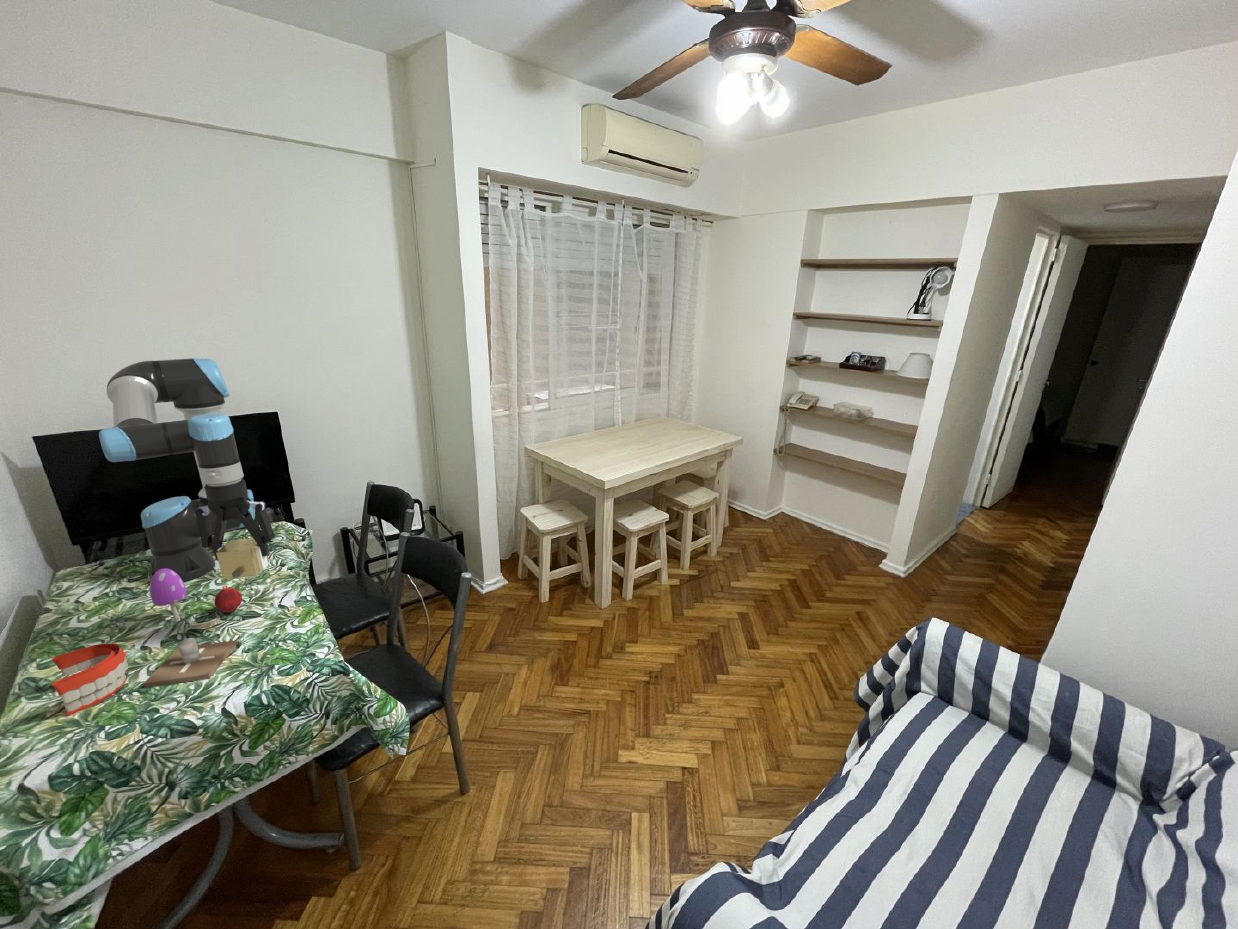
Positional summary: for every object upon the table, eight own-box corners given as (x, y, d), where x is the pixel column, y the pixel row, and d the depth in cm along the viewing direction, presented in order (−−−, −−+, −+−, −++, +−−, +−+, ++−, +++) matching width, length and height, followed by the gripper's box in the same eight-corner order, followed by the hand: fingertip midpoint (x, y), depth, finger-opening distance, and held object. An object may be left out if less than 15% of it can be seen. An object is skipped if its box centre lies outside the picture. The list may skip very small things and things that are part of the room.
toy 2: (174, 629, 125) (157, 577, 121) (153, 626, 126) (136, 574, 122) (200, 614, 131) (185, 564, 127) (180, 611, 133) (165, 562, 128)
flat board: (178, 652, 117) (171, 630, 115) (236, 644, 119) (230, 622, 118) (145, 688, 106) (136, 664, 104) (209, 678, 108) (202, 655, 106)
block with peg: (240, 562, 125) (234, 537, 123) (271, 559, 126) (266, 534, 124) (219, 582, 115) (212, 556, 113) (253, 579, 117) (246, 552, 115)
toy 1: (136, 691, 105) (125, 659, 102) (65, 719, 98) (51, 686, 95) (130, 664, 113) (120, 634, 111) (64, 688, 106) (51, 657, 103)
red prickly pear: (249, 609, 133) (242, 583, 131) (224, 620, 129) (216, 594, 126) (238, 603, 136) (232, 578, 134) (214, 614, 132) (206, 588, 129)
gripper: (163, 490, 108) (190, 582, 115) (265, 483, 113) (286, 572, 119) (183, 479, 115) (207, 566, 122) (279, 473, 120) (297, 557, 126)
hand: (246, 569), depth 121 cm, fingers closed on block with peg, 7 cm apart
